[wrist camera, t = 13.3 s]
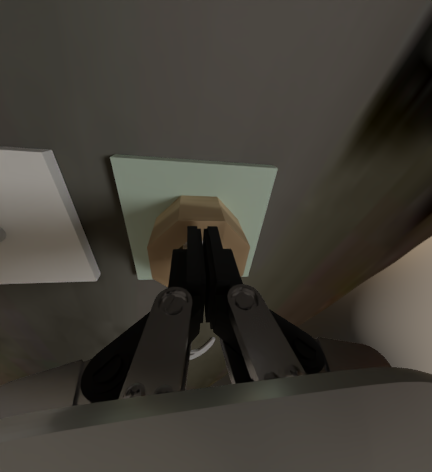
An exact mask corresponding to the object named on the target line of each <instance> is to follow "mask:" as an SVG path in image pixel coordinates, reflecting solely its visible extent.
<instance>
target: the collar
mask: <svg viewBox="0 0 432 472" xmlns="http://www.w3.org/2000/svg"><path fill="white" fill-rule="evenodd" d="M187 226H197V229H201V234H202V241H203V231H204V229H207V226H217V227H218V231H219V235H220V239H221V243H222V247H223V249H232V252H233V255H234V258H235V261H236V264H237V267H238V270H239V274H240V277H241V276H243V274H244V270H245V266H246V262H247V258H248V254H249V250H250V245H249V243H248V241H247V239H246V236H245V234H244V232H243V230H242V228H241V225H240V223H239V221H238V219H237V218H236V217H235V216H234V215H233V214H232V212H231V211H230V210H229V209H228V208H227V207H226V206H225V205H224V204H223V203H222V201H221V200H220V199H219V198H218V197H212V196H185V195H181V196H180V197H178V198H177V199H176V200H175V201H174V202H173V203H172V204H171V205H170V206H169V207H168V208H167V209H165V210H164V211H163V212H162V213H161V214H160V215H159V216H158V217H157V218H156V221H155V224H154V227H153V230H152V233H151V236H150V239H149V243H148V246H147V251H148V257H149V263H150V269H151V275H152V278H153V279H154V280H156V281H158V282H160V283H161V284H163V285H165V286H167V287H168V284H169V276H170V268H171V260H172V252H173V249H183V245H184V244H185V243H186V242H187Z"/></svg>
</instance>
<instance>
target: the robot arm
mask: <svg viewBox="0 0 432 472" xmlns="http://www.w3.org/2000/svg"><path fill="white" fill-rule="evenodd" d="M204 305H205V317H206V322H210V328H211V329H213V332H214V333H215V334H216V335H218V336H219V337H220V343H221V347H222V351H223V354H224V358H225V361H226V365H227V368H228V372H229V375H230V379H231V382H232V384H231V385H223V386H217V387H208V388H200V389H193V390H185V389H186V382H187V374H188V366H189V359H190V351H191V342H192V341H193V340H194V339H195V338H196V336H197V335H198V334H199V331H200V323H203V314H204ZM0 472H432V374H429V373H425V372H422V371H418V370H413V369H407V368H397V367H391V366H390V364H389V363H388V361H387V360H386V359H385V357H384V356H382V355H381V354H380V353H379V352H378V351H377V350H375V349H373V348H372V347H370V346H367V345H364V344H359V343H352V342H346V341H340V340H333V339H328V338H322V337H318V338H317V339H314V338H312V337H311V336H310V335H308V334H307V333H306V332H304V331H302V330H301V329H299V328H298V327H296V326H295V325H293V324H292V323H290V322H288V321H287V320H285V319H284V318H282V317H281V316H279V315H277V314H276V313H274V312H273V311H271V310H270V309H269V308H268V307H267V305H266V303H265V301H264V300H263V298H262V296H261V295H260V293H259V292H258V291H257V290H256V289H255V288H253V287H251V286H249V285H245V284H243V283H242V280H241V277H240V274H239V270H238V267H237V264H236V261H235V258H234V255H233V252H232V249H223V247H222V243H221V239H220V235H219V231H218V227H217V226H207V229H204V231H203V244H202V234H201V229H197V226H187V249H173V252H172V260H171V268H170V276H169V284H168V288H167V289H165V290H163V291H161V292H160V293H159V294H158V295H157V297H156V299H155V300H154V303H153V306H152V309H151V311H150V312H149V313H148V314H147V315H145V316H144V317H143V318H142V319H140V320H139V321H138V322H137V323H135V324H134V325H133V326H131V327H130V328H129V329H128V330H126V331H125V332H124V333H123V334H121V335H120V336H119V337H118V338H116V339H115V340H114V341H113V342H111V343H110V344H109V345H108V346H106V347H105V348H104V349H103V350H101V351H100V352H99V353H98V354H97V355H96V356H94V357H93V358H92V359H90V360H87V361H83V360H82V359H81V360H78V361H75V362H71V363H68V364H65V365H62V366H59V367H56V368H52V369H49V370H46V371H43V372H40V373H36V374H33V375H30V376H27V377H24V378H20V379H17V380H14V381H11V382H8V383H6V384H4V385H2V386H0Z"/></svg>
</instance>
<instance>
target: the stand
mask: <svg viewBox="0 0 432 472" xmlns="http://www.w3.org/2000/svg"><path fill="white" fill-rule="evenodd" d="M100 274H101V273H100V271H99V268H98V265H97V263H96V260H95V258H94V255H93V253H92V250H91V248H90V245H89V243H88V240H87V238H86V235H85V233H84V230H83V228H82V225H81V223H80V220H79V217H78V215H77V212H76V210H75V207H74V205H73V202H72V200H71V197H70V195H69V192H68V190H67V187H66V185H65V182H64V180H63V177H62V174H61V172H60V169H59V167H58V164H57V162H56V159H55V157H54V154H53V152H52V150H47V149H33V148H19V147H5V146H0V284H21V283H53V282H85V281H97V280H98V278H99V276H100Z"/></svg>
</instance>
